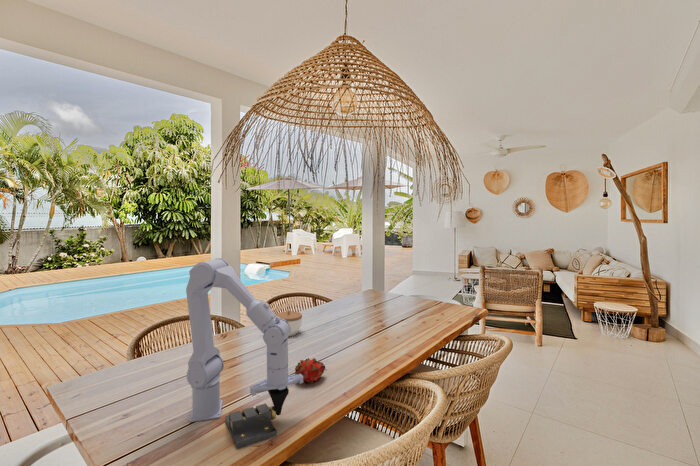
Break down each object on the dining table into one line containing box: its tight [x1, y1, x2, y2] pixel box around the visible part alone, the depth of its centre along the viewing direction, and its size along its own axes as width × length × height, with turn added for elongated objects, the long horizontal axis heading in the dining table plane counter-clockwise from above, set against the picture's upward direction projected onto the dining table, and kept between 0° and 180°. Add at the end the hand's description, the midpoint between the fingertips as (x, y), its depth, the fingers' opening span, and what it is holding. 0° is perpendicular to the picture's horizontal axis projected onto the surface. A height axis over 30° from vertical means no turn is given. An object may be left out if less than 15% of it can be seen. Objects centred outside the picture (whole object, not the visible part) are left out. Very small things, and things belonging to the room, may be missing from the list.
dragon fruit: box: [294, 357, 326, 385], centre depth 121 cm, size 8×8×12 cm
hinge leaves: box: [224, 403, 278, 450], centre depth 94 cm, size 13×10×4 cm
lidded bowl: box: [275, 310, 303, 337], centre depth 168 cm, size 13×13×11 cm
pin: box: [230, 405, 277, 430], centre depth 94 cm, size 3×11×3 cm, turn 121°
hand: (277, 413), depth 98 cm, fingers closed
